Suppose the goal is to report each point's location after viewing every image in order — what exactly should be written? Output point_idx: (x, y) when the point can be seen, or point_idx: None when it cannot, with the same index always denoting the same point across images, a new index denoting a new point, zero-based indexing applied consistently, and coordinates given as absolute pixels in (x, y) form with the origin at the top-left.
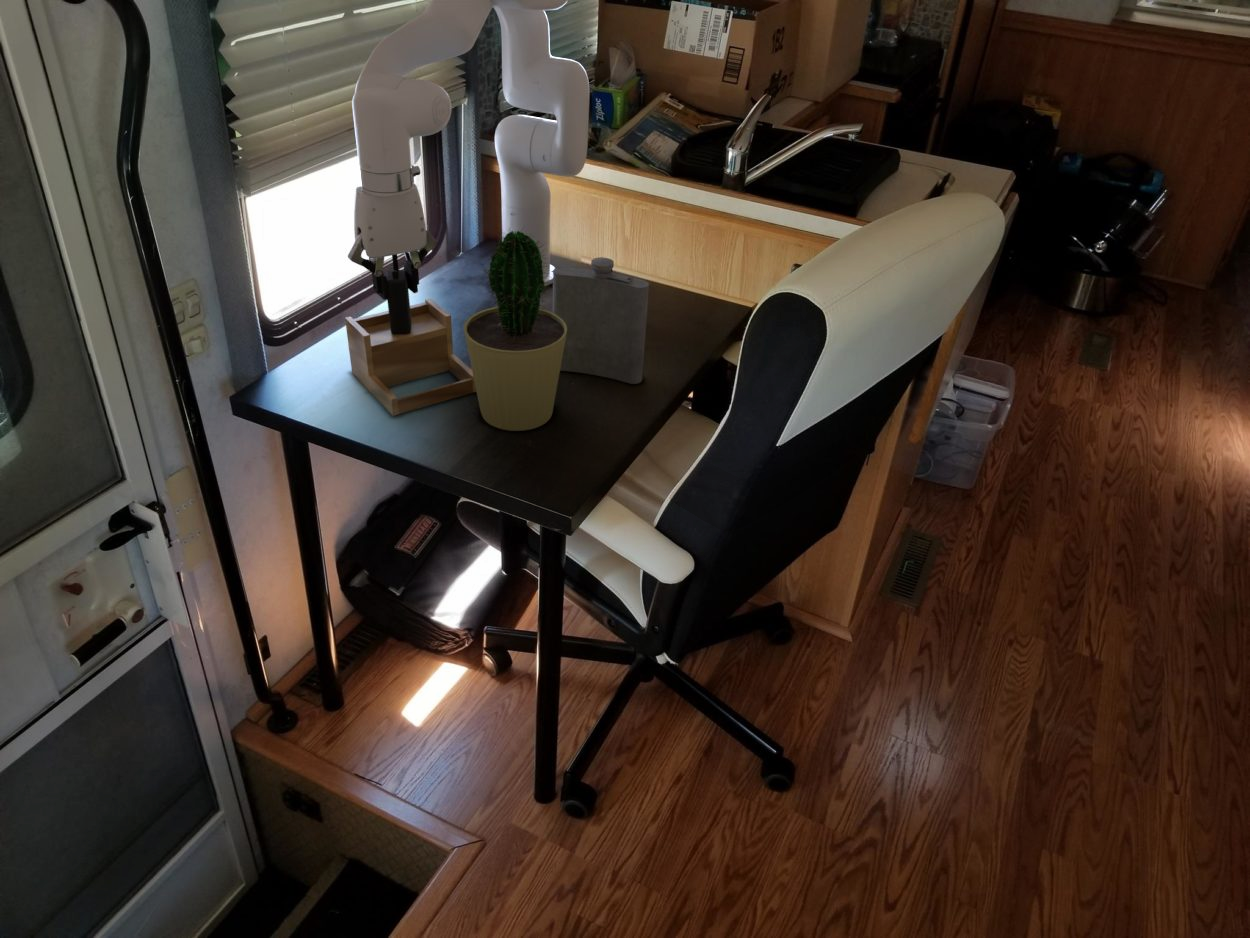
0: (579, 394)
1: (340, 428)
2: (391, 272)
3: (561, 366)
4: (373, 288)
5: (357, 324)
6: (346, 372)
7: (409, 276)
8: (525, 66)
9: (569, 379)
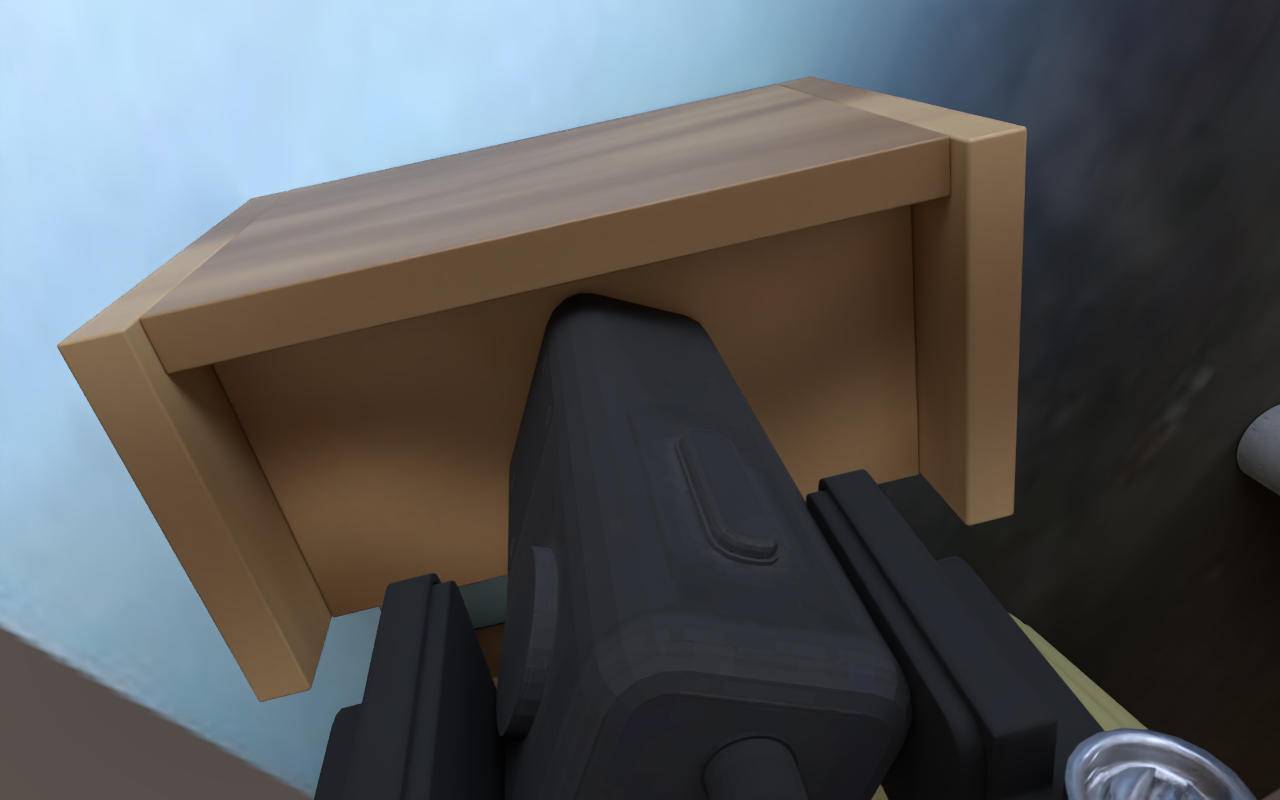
0: (1178, 646)
1: (191, 691)
2: (663, 770)
3: (1268, 488)
4: (335, 718)
5: (201, 512)
6: (212, 184)
7: (897, 756)
8: None
9: (1225, 544)
